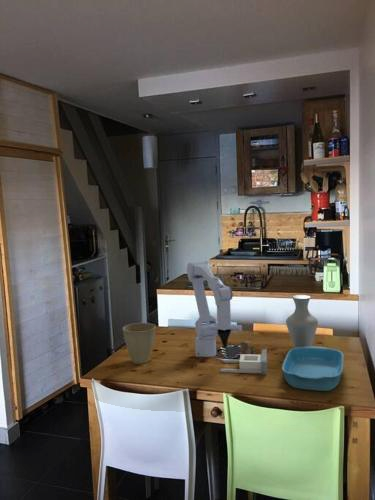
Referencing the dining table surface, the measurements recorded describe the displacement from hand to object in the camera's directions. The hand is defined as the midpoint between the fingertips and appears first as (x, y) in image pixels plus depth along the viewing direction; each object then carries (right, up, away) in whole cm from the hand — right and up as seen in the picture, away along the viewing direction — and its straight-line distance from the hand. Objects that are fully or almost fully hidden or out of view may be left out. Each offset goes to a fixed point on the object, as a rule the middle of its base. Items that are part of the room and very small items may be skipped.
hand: (225, 346), depth 185 cm
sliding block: (+11, -8, -2) cm, 14 cm away
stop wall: (+16, -8, -3) cm, 18 cm away
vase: (+38, -6, +21) cm, 44 cm away
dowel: (+10, -8, +13) cm, 19 cm away
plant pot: (-37, -10, +14) cm, 41 cm away
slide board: (+8, -9, -1) cm, 12 cm away
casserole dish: (+34, -10, -12) cm, 37 cm away
